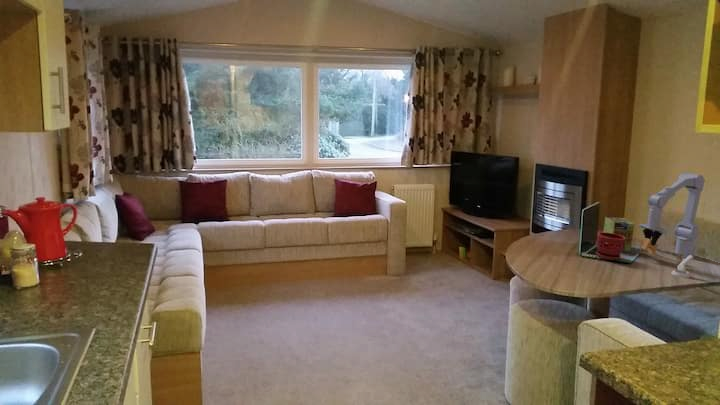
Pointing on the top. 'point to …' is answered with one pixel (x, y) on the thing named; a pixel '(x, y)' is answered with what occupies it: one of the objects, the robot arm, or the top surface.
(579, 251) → the top surface
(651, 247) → the block
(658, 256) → the stand
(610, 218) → the protein box
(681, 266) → the hook
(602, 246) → the plant pot
